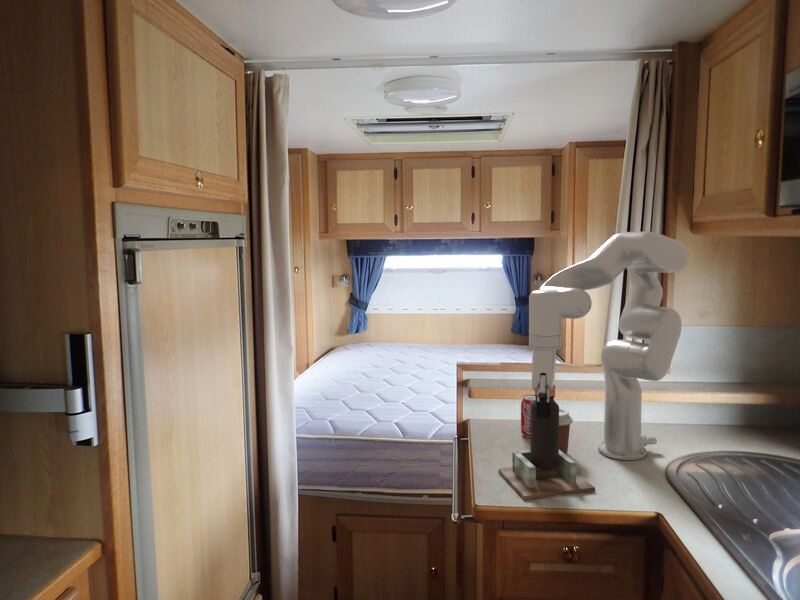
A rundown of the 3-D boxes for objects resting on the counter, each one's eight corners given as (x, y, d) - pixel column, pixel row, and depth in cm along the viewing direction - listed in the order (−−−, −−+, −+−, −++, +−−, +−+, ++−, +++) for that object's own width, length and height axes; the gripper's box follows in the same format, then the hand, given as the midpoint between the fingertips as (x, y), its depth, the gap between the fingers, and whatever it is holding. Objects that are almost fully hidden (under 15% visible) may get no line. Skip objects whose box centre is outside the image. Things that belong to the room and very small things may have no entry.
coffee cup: (533, 449, 159) (533, 408, 158) (561, 445, 161) (561, 405, 160) (549, 461, 150) (549, 418, 149) (579, 457, 153) (579, 414, 151)
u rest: (498, 472, 144) (498, 450, 144) (562, 465, 148) (562, 443, 147) (524, 500, 129) (523, 475, 128) (595, 491, 132) (595, 467, 131)
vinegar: (524, 463, 138) (524, 385, 136) (542, 456, 142) (542, 380, 140) (547, 472, 133) (547, 390, 131) (564, 465, 137) (565, 385, 135)
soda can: (547, 439, 167) (547, 400, 166) (523, 439, 167) (523, 400, 166) (541, 431, 174) (541, 393, 173) (518, 431, 174) (518, 394, 173)
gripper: (532, 334, 144) (532, 402, 146) (525, 347, 127) (525, 423, 129) (562, 335, 141) (562, 404, 143) (559, 348, 125) (558, 426, 127)
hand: (544, 412), depth 136 cm, fingers closed on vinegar, 6 cm apart
